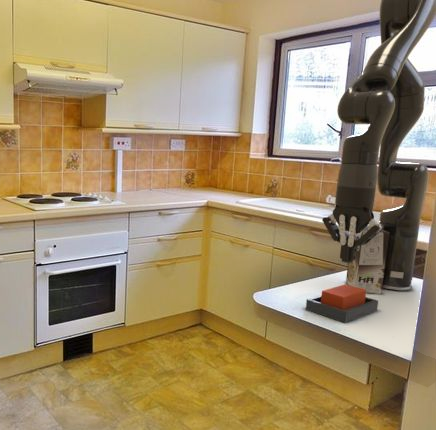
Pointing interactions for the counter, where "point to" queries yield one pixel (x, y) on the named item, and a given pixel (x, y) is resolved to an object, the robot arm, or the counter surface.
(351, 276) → the coffee box
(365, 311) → the tray
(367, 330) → the counter surface
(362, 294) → the orange-red rectangular block
